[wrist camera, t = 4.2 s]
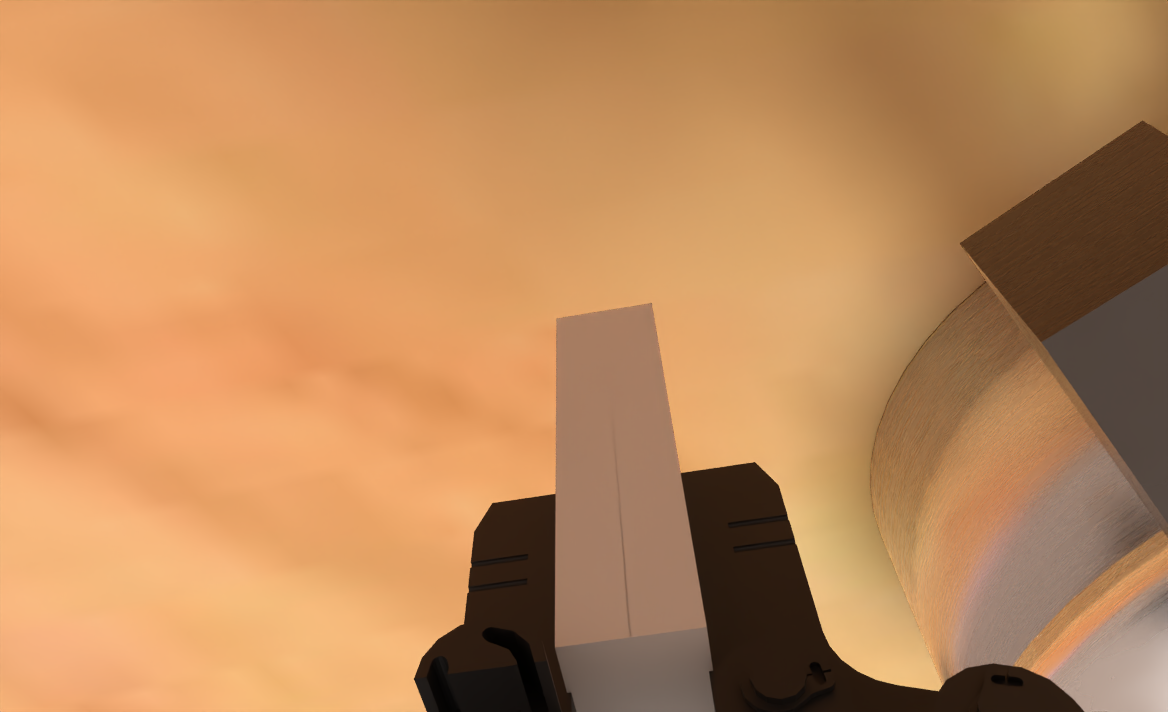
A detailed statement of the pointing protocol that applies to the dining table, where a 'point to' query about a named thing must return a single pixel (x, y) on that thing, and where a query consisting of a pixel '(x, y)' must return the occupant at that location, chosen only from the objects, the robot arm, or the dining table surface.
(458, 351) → the dining table surface
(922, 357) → the pot
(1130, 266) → the lid
